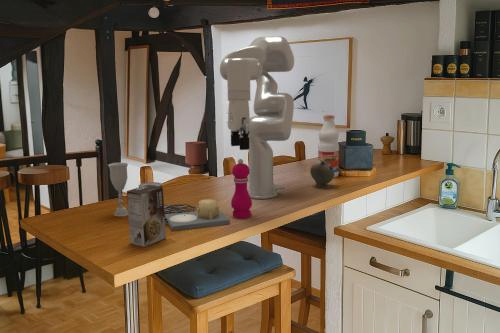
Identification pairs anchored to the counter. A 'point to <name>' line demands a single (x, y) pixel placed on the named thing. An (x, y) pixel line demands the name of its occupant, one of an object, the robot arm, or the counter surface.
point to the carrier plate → (198, 217)
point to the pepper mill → (241, 191)
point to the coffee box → (146, 215)
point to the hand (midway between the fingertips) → (239, 147)
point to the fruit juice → (329, 144)
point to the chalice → (119, 183)
